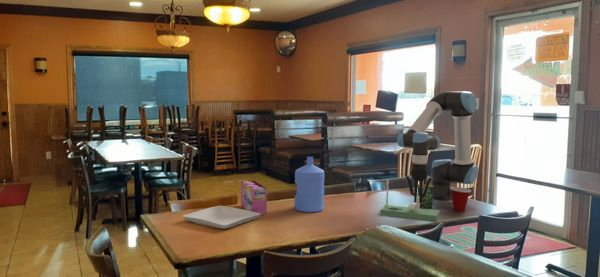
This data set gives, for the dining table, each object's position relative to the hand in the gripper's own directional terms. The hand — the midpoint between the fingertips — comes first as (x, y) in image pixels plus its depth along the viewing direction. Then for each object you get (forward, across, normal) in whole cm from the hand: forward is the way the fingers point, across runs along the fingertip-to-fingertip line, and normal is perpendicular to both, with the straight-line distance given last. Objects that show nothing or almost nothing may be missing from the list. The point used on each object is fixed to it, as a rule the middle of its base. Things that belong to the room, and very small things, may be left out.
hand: (417, 208), depth 240 cm
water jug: (+4, -55, -10) cm, 56 cm away
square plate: (+4, -85, -50) cm, 98 cm away
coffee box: (+4, +1, +20) cm, 21 cm away
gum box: (+4, -81, -24) cm, 85 cm away
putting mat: (+4, -4, +1) cm, 6 cm away
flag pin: (+1, -17, +5) cm, 18 cm away
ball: (-1, -3, 0) cm, 3 cm away
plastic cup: (+4, +19, +23) cm, 30 cm away
